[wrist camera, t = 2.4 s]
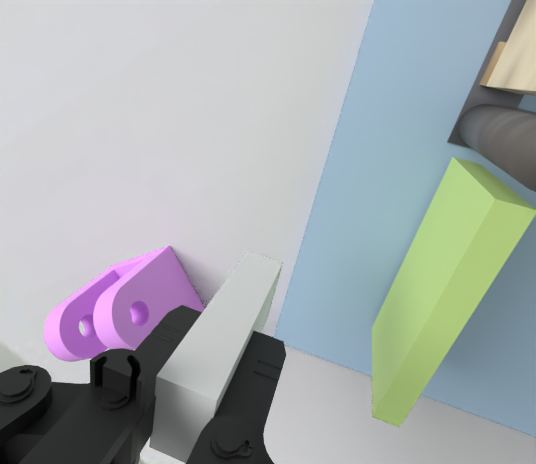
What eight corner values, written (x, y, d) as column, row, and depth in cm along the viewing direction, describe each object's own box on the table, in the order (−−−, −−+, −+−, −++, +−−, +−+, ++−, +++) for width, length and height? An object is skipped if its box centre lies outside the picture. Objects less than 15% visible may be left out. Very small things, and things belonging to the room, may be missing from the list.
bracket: (112, 264, 25) (30, 325, 19) (170, 244, 23) (98, 305, 17) (194, 394, 29) (147, 480, 23) (251, 388, 27) (215, 481, 21)
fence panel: (452, 156, 15) (495, 199, 10) (480, 163, 15) (537, 211, 10) (371, 328, 20) (372, 416, 15) (391, 335, 20) (399, 427, 15)
